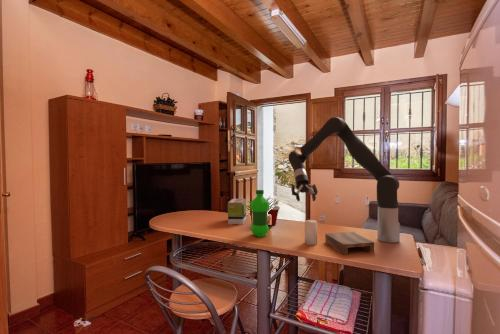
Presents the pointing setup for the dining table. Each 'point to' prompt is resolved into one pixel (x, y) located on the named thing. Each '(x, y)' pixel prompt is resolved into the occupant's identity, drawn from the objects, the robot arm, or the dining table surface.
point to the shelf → (348, 241)
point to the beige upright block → (310, 232)
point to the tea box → (237, 211)
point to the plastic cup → (274, 214)
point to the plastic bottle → (259, 214)
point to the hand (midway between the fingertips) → (306, 200)
